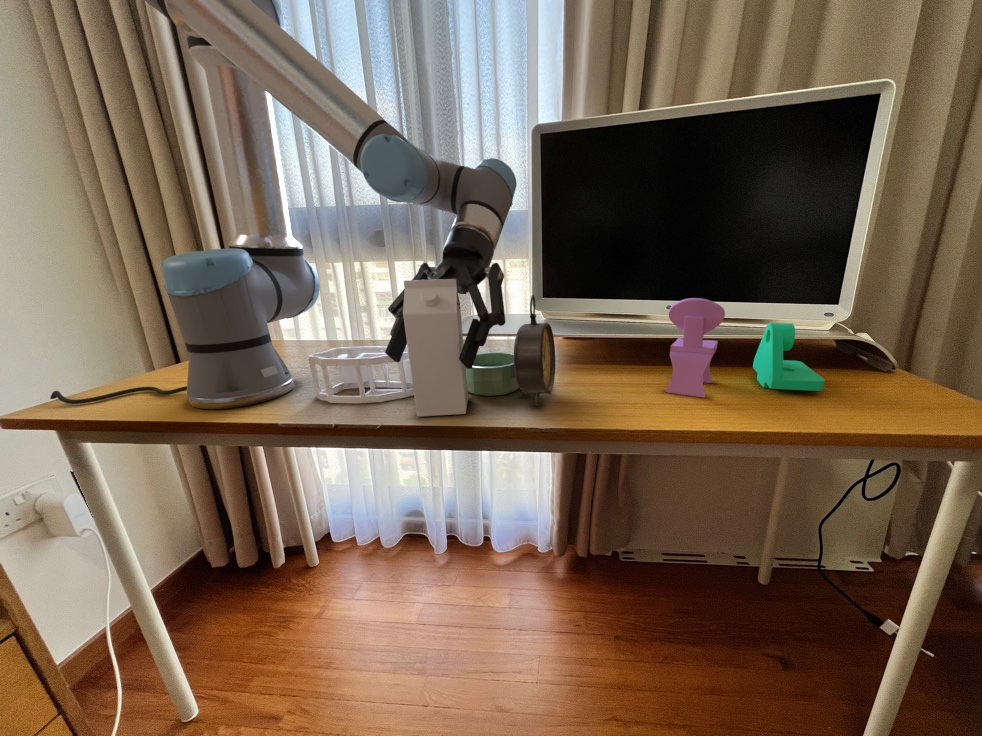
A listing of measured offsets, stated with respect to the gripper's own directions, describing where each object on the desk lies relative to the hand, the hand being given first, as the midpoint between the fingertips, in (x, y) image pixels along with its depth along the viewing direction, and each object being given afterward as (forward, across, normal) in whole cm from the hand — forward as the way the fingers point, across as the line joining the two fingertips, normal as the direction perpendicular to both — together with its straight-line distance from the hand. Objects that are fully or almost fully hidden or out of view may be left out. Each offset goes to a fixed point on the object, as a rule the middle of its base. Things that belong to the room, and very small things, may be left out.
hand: (427, 360), depth 61 cm
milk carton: (+4, 0, -8) cm, 9 cm away
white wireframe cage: (+2, +14, -10) cm, 17 cm away
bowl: (-4, -3, -15) cm, 16 cm away
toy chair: (-11, -35, -23) cm, 43 cm away
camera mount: (-15, -50, -27) cm, 59 cm away
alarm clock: (-2, -12, -14) cm, 18 cm away
